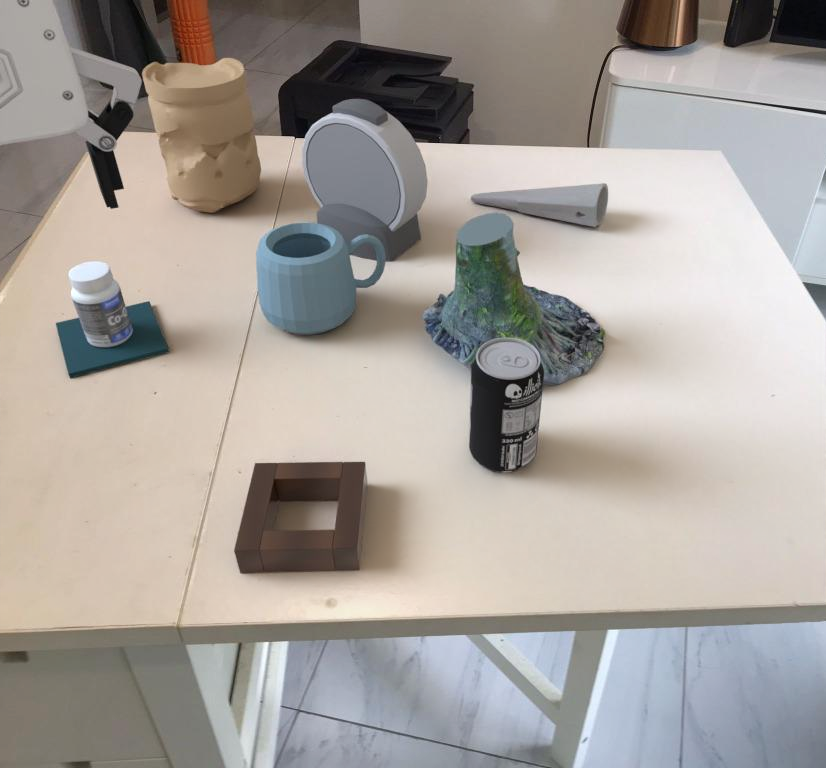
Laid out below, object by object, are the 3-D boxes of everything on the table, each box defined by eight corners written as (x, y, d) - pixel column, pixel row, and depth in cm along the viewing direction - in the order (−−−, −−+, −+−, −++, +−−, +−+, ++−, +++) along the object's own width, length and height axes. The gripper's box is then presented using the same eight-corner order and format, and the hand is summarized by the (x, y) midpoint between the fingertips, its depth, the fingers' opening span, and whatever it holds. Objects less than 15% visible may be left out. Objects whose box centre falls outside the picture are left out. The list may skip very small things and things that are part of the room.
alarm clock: (439, 236, 110) (438, 105, 98) (398, 270, 103) (391, 133, 91) (343, 205, 115) (331, 77, 103) (296, 236, 108) (278, 102, 96)
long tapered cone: (487, 194, 123) (608, 210, 117) (471, 217, 119) (595, 234, 113) (483, 160, 119) (608, 175, 113) (466, 183, 115) (595, 199, 109)
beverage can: (478, 424, 82) (481, 329, 74) (541, 435, 81) (551, 340, 73) (461, 469, 77) (463, 373, 69) (529, 482, 76) (538, 386, 68)
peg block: (239, 573, 66) (233, 550, 65) (260, 485, 74) (254, 462, 72) (359, 570, 67) (357, 547, 65) (367, 483, 75) (365, 461, 73)
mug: (373, 275, 102) (368, 203, 95) (402, 322, 94) (399, 248, 88) (253, 299, 96) (239, 224, 90) (274, 351, 89) (261, 275, 82)
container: (167, 185, 117) (136, 58, 105) (255, 172, 121) (235, 50, 110) (179, 225, 108) (147, 92, 97) (273, 210, 113) (253, 82, 101)
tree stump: (620, 394, 87) (601, 261, 75) (440, 428, 88) (393, 303, 76) (594, 292, 100) (575, 164, 88) (438, 323, 102) (398, 202, 89)
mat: (70, 378, 84) (68, 373, 83) (57, 327, 90) (55, 322, 90) (169, 352, 88) (168, 347, 87) (150, 305, 94) (149, 300, 94)
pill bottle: (124, 349, 87) (102, 284, 81) (79, 347, 87) (55, 282, 81) (140, 324, 90) (120, 259, 85) (97, 322, 90) (75, 257, 85)
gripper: (-291, -47, 37) (-121, 271, 48) (112, -69, 44) (179, 213, 55) (-270, -81, 42) (-120, 215, 53) (90, -95, 49) (156, 168, 60)
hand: (33, 214), depth 54 cm, fingers open, 9 cm apart
